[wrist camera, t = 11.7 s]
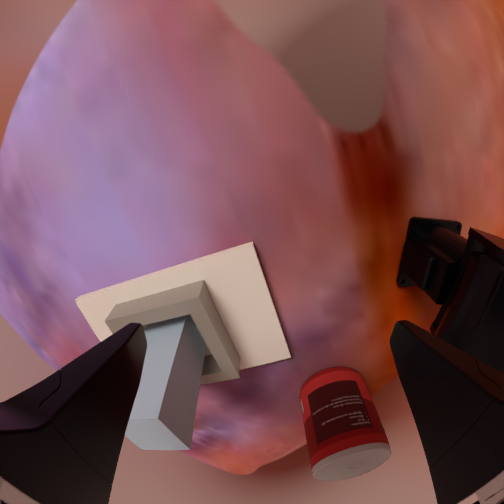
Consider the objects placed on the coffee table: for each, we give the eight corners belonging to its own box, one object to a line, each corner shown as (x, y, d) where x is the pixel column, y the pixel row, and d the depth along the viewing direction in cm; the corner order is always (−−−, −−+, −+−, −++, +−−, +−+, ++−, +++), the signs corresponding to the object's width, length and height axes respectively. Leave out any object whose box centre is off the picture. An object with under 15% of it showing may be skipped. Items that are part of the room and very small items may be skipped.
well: (252, 241, 21) (253, 259, 18) (290, 351, 26) (294, 376, 23) (78, 296, 23) (62, 315, 20) (135, 380, 28) (128, 402, 25)
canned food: (331, 411, 30) (348, 482, 20) (283, 395, 29) (294, 479, 18) (375, 376, 28) (406, 450, 18) (330, 355, 26) (359, 444, 16)
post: (188, 311, 23) (157, 418, 13) (206, 345, 24) (190, 449, 14) (149, 321, 23) (107, 418, 13) (169, 353, 25) (141, 449, 15)
